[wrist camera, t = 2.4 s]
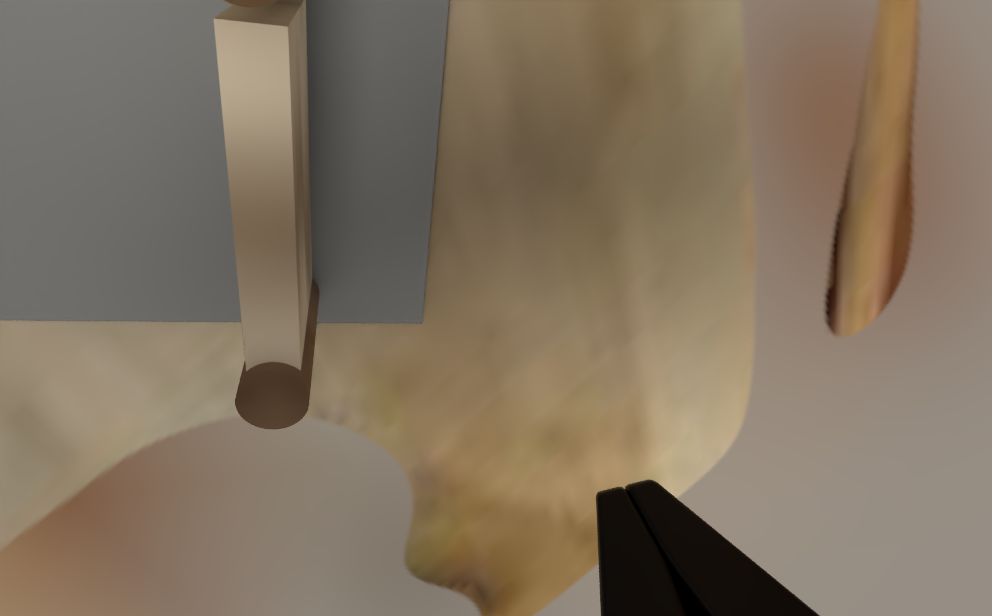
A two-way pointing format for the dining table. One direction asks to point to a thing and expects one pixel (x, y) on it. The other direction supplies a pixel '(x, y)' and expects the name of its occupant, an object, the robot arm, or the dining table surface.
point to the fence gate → (270, 204)
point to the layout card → (206, 159)
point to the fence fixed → (251, 2)
